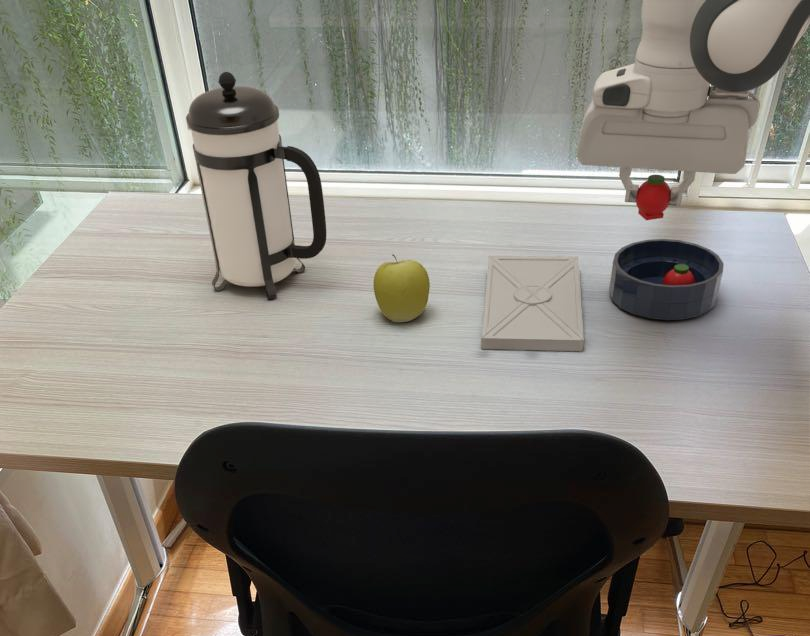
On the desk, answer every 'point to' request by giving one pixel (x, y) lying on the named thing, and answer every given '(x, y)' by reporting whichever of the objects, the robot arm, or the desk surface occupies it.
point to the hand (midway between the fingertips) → (652, 202)
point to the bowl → (644, 273)
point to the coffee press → (250, 186)
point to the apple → (401, 289)
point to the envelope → (533, 304)
